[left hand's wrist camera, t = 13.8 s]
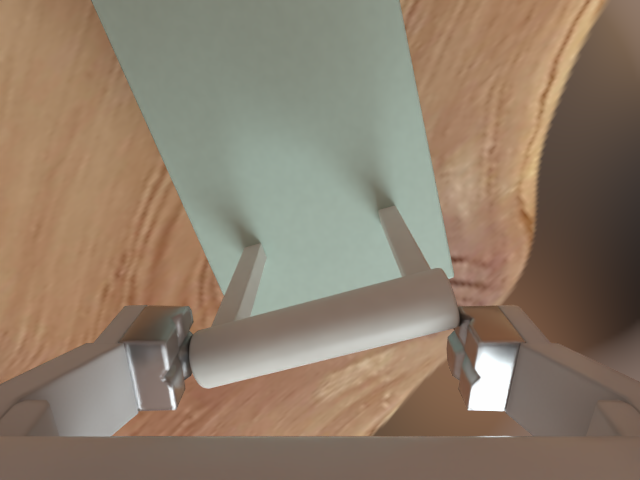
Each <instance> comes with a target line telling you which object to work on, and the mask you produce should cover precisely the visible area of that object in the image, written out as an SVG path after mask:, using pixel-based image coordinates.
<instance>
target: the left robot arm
mask: <svg viewBox="0 0 640 480" xmlns="http://www.w3.org/2000/svg"><path fill="white" fill-rule="evenodd" d="M458 311H459V317H460V322H459V326H458V327H456V328H453V329H454V331H453V332H452V333H451V335H450V336H449V337H448V341H447V360H448V364H449V368H450V371H451V373H452V375H453V376H454V377H455V378H457V379H458V380H460V381H459V388H458V389H459V391H460V394H461V396H462V398H463V400H464V403H465V405H466V407H467V409H468V410H488V411H506V413H507V414H508V415H509V416H510V417H511V418H513V419H514V420H515V421H516V422H517V423H518V424H520V425H521V426H522V427H523V428H524V429H526V430H527V431H528V432H529V433H530V434H531V435H533V436H112V435H113V434H114V433H115V432H116V431H118V430H119V429H120V428H121V427H122V426H123V425H125V424H126V423H127V422H128V421H129V420H131V419H132V418H133V417H134V416H135V415H136V414H138V411H155V410H176V409H177V407H178V405H179V402H180V400H181V398H182V395H183V393H184V391H185V383H184V380H185V379H187V378H188V377H190V376H191V374H192V369H191V366H190V360H189V345H190V340H191V338H192V336H193V334H192V333H191V332H190V331H189V330H190V328H191V326H192V324H193V316H192V310H191V309H190V308H189V306H151V305H149V306H147V305H129V306H125V307H124V308H123V309H122V310H121V311H120V312H119V313H118V315H117V316H116V317H115V318H114V319H113V320H112V322H111V323H110V324H109V325H108V326H107V327H106V329H105V330H104V331H103V332H102V333H101V335H100V336H99V337H98V338H97V339H96V340H95V342H94V343H86V344H84V345H82V346H80V347H77V348H75V349H73V350H71V351H69V352H67V353H65V354H63V355H61V356H59V357H56V358H54V359H52V360H50V361H48V362H46V363H44V364H42V365H40V366H38V367H35V368H33V369H31V370H29V371H27V372H25V373H23V374H21V375H19V376H16V377H14V378H12V379H10V380H8V381H6V382H4V383H2V384H0V480H640V382H639V381H636V380H634V379H632V378H630V377H628V376H626V375H624V374H622V373H620V372H618V371H615V370H613V369H611V368H609V367H607V366H605V365H603V364H601V363H599V362H596V361H594V360H592V359H590V358H588V357H586V356H584V355H582V354H580V353H577V352H575V351H573V350H571V349H569V348H567V347H565V346H563V345H561V344H558V343H550V341H549V340H548V339H547V338H546V337H545V336H544V334H543V333H542V332H541V331H540V330H539V329H538V328H537V326H536V325H535V324H534V323H533V322H532V321H531V320H530V318H529V317H528V316H527V315H526V314H525V313H524V311H523V310H522V309H521V308H520V307H519V306H516V305H502V306H463V307H458Z"/></svg>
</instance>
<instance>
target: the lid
mask: <svg viewBox="0 0 640 480" xmlns="http://www.w3.org/2000/svg"><path fill="white" fill-rule="evenodd" d="M91 1H92V3H93V5H94V7H95V10H96V12H97V14H98V16H99V19H100V21H101V23H102V25H103V27H104V30H105V32H106V34H107V36H108V39H109V41H110V43H111V45H112V48H113V50H114V52H115V54H116V56H117V59H118V61H119V63H120V65H121V68H122V70H123V72H124V74H125V76H126V79H127V81H128V83H129V85H130V88H131V90H132V92H133V94H134V97H135V99H136V101H137V103H138V105H139V108H140V110H141V112H142V114H143V117H144V119H145V121H146V123H147V126H148V128H149V130H150V132H151V134H152V137H153V139H154V141H155V143H156V146H157V148H158V150H159V152H160V155H161V157H162V159H163V161H164V163H165V166H166V168H167V170H168V172H169V175H170V177H171V179H172V181H173V184H174V186H175V188H176V190H177V192H178V195H179V197H180V199H181V201H182V204H183V206H184V208H185V210H186V212H187V215H188V217H189V219H190V221H191V224H192V226H193V228H194V230H195V233H196V235H197V237H198V239H199V241H200V244H201V246H202V248H203V250H204V253H205V255H206V257H207V259H208V262H209V264H210V266H211V268H212V270H213V273H214V275H215V277H216V279H217V282H218V284H219V286H220V288H221V291H222V293H223V295H224V298H223V300H222V302H221V305H220V307H219V309H218V312H217V314H216V317H215V319H214V321H213V324H212V326H211V327H210V328H206V329H202V330H199V331H197V332H196V333H194V334H193V336H192V338H191V340H190V345H189V360H190V366H191V369H192V373H193V375H194V377H195V379H196V381H197V382H198V384H199V385H200V386H202V387H204V388H213V387H217V386H221V385H225V384H229V383H233V382H237V381H241V380H245V379H249V378H253V377H257V376H262V375H266V374H270V373H274V372H278V371H282V370H286V369H290V368H294V367H298V366H302V365H306V364H310V363H314V362H319V361H323V360H327V359H331V358H335V357H339V356H343V355H347V354H351V353H355V352H359V351H363V350H367V349H371V348H375V347H380V346H384V345H388V344H392V343H396V342H400V341H404V340H408V339H412V338H416V337H420V336H424V335H428V334H432V333H437V332H441V331H445V330H449V329H453V328H456V327H458V326H459V322H460V317H459V311H458V306H457V302H456V299H455V295H454V292H453V289H452V287H451V284H450V282H449V278H453V277H454V272H453V267H452V262H451V257H450V252H449V247H448V242H447V237H446V232H445V227H444V222H443V217H442V212H441V207H440V202H439V197H438V192H437V187H436V182H435V177H434V172H433V166H432V161H431V156H430V151H429V146H428V141H427V136H426V131H425V126H424V121H423V116H422V111H421V106H420V101H419V96H418V91H417V86H416V81H415V76H414V71H413V66H412V61H411V56H410V51H409V46H408V41H407V36H406V31H405V26H404V21H403V16H402V11H401V6H400V1H399V0H91Z"/></svg>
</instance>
